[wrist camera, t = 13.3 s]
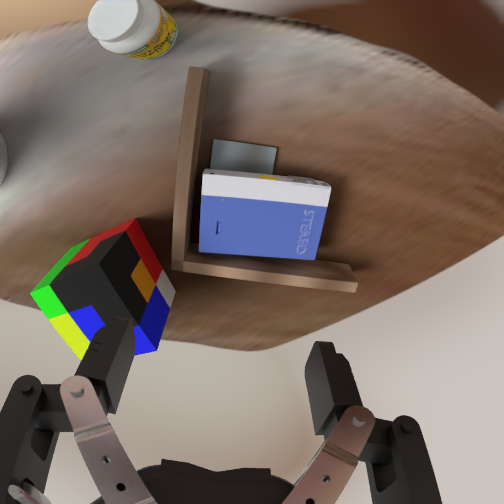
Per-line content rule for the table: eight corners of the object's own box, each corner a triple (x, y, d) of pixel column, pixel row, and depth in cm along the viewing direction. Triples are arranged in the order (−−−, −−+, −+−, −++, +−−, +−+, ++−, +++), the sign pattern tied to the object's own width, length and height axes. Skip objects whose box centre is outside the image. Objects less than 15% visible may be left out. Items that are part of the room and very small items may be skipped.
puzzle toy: (175, 291, 36) (156, 350, 28) (112, 310, 38) (84, 364, 29) (136, 217, 32) (98, 263, 23) (72, 247, 34) (29, 293, 25)
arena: (178, 251, 34) (171, 270, 30) (197, 71, 25) (189, 66, 22) (345, 272, 35) (354, 292, 32) (389, 108, 27) (407, 111, 23)
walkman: (200, 239, 32) (312, 247, 34) (198, 252, 30) (318, 260, 31) (205, 165, 29) (327, 178, 30) (202, 172, 26) (335, 187, 28)
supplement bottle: (161, 2, 21) (126, -31, 13) (189, 38, 24) (163, 14, 15) (116, 35, 23) (68, 17, 14) (143, 71, 25) (100, 63, 16)
